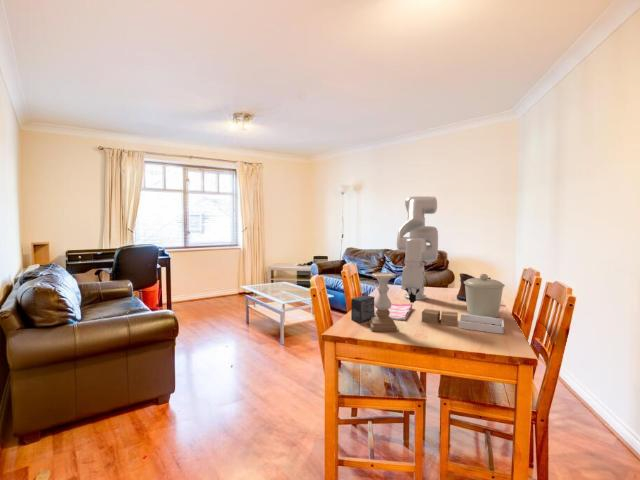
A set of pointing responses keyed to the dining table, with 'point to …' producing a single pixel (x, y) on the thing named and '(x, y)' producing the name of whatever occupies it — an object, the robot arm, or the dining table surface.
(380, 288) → the candle holder
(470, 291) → the canister
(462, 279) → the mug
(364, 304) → the small box
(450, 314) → the tile
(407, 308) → the dish towel
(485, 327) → the tray
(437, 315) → the tile
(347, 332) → the dining table surface
